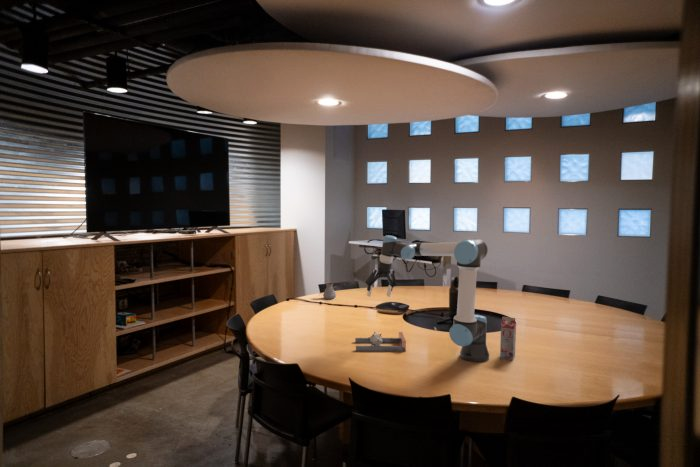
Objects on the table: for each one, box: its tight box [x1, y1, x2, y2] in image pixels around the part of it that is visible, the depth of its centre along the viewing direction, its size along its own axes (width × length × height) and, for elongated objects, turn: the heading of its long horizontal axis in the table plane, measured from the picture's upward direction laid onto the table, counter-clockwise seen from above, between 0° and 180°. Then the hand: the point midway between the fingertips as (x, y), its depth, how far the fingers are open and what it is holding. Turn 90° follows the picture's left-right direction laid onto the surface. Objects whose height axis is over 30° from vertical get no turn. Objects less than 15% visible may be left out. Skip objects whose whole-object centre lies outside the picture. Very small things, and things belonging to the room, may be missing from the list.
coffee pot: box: [322, 282, 346, 300], centre depth 383 cm, size 21×12×15 cm, turn 63°
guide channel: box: [354, 331, 407, 352], centre depth 255 cm, size 17×28×6 cm, turn 90°
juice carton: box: [499, 316, 517, 361], centre depth 237 cm, size 7×7×22 cm
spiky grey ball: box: [367, 331, 384, 346], centre depth 255 cm, size 9×8×10 cm
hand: (378, 296), depth 259 cm, fingers open, 13 cm apart
